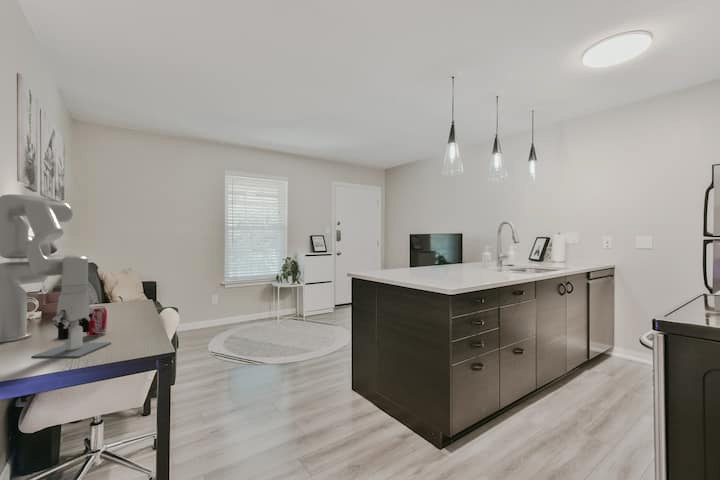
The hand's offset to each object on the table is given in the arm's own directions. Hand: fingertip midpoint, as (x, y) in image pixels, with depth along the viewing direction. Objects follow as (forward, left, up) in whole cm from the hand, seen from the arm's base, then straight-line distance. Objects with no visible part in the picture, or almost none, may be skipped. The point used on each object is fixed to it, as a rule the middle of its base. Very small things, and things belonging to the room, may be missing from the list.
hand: (74, 335), depth 126 cm
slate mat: (0, 0, -6) cm, 6 cm away
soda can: (-7, +21, -6) cm, 23 cm away
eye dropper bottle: (0, 0, -5) cm, 5 cm away
